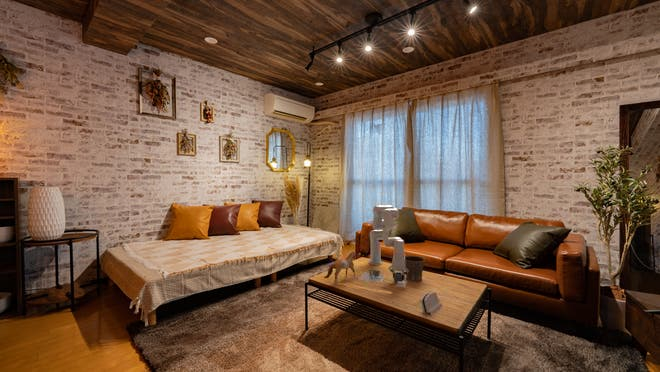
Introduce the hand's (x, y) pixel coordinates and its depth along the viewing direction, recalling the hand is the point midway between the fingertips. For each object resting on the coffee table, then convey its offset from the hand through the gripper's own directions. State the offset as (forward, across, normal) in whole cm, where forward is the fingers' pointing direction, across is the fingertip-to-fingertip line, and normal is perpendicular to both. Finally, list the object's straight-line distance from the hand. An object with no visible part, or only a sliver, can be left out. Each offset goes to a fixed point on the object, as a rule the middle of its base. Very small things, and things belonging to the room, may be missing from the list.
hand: (398, 279), depth 206 cm
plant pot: (+4, -9, -16) cm, 19 cm away
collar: (+1, 0, 0) cm, 1 cm away
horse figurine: (+4, +43, +12) cm, 45 cm away
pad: (+4, 0, 0) cm, 4 cm away
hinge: (+4, -25, +30) cm, 40 cm away
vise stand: (+4, +21, -1) cm, 21 cm away
